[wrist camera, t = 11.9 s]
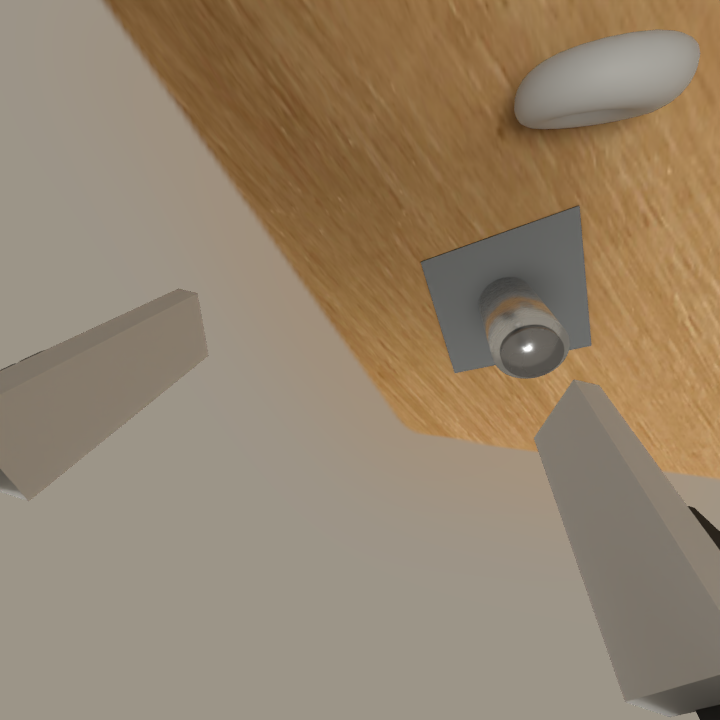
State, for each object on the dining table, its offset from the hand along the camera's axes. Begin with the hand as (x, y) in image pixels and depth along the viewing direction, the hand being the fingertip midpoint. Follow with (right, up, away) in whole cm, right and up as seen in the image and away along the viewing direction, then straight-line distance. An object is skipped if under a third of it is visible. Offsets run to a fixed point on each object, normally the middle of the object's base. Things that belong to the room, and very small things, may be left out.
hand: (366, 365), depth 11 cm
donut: (+17, +21, +14) cm, 31 cm away
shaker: (+16, +7, +23) cm, 28 cm away
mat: (+16, +7, +23) cm, 29 cm away
